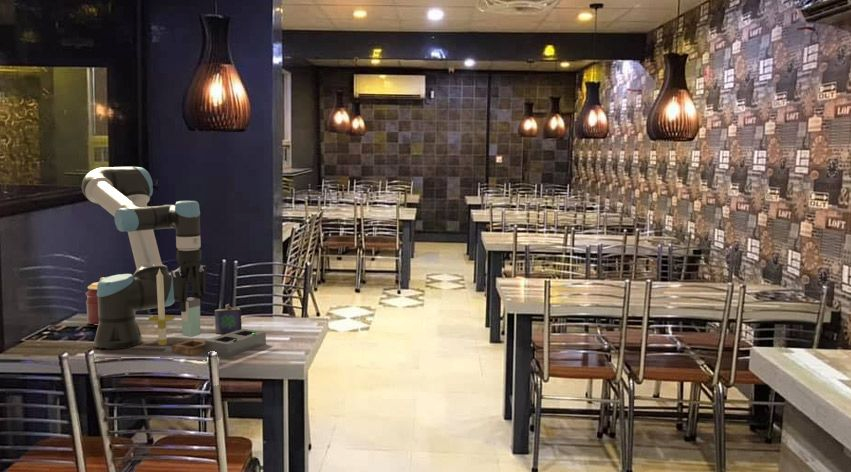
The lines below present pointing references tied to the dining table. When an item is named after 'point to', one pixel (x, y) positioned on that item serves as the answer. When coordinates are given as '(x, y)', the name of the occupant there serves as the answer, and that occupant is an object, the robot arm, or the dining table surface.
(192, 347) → the square wooden tray
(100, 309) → the robot arm
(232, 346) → the port panel
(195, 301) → the green square bottle
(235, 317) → the flask
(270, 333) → the dining table surface
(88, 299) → the canister
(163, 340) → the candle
